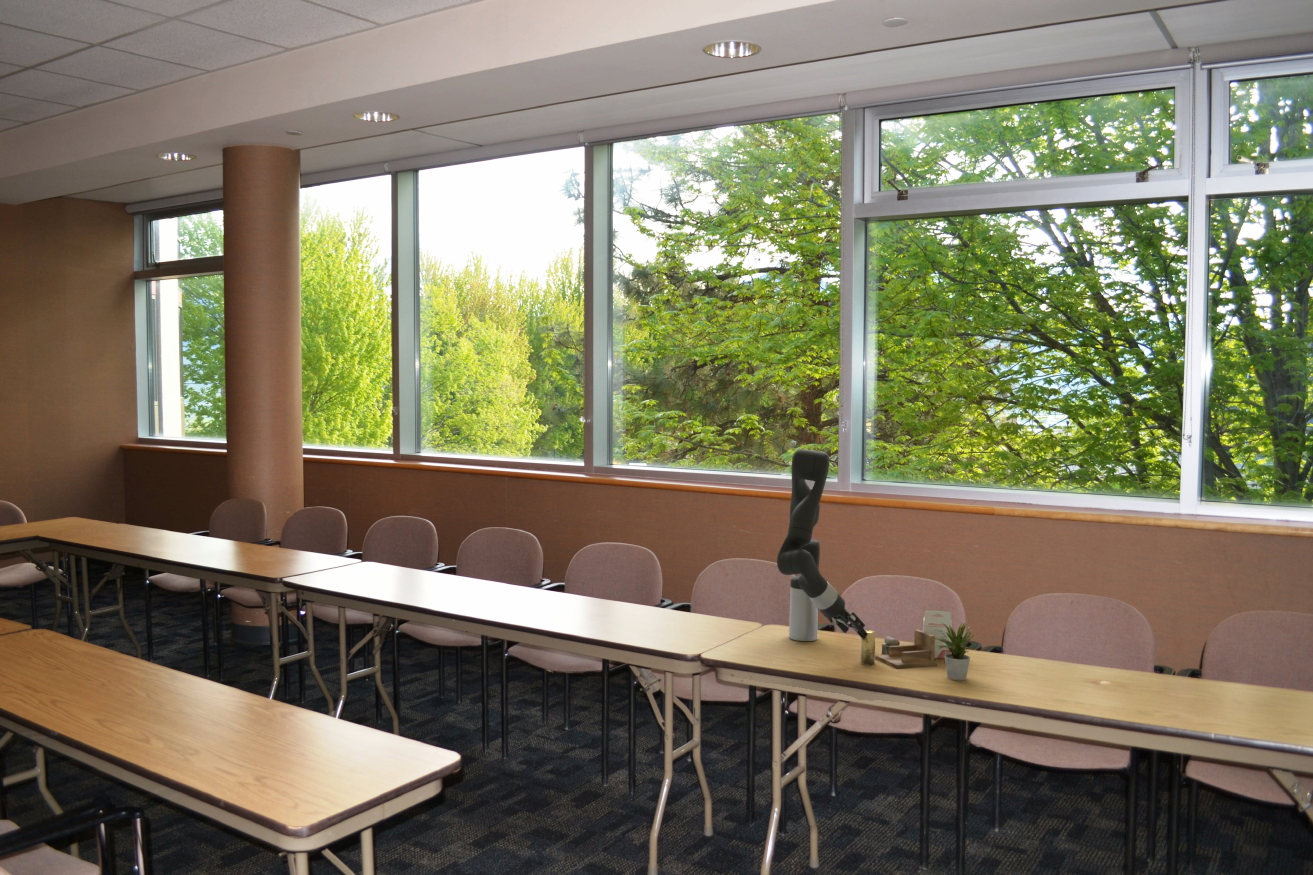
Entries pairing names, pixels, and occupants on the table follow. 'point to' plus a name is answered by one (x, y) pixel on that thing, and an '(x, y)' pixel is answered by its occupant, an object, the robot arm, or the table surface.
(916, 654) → the cradle
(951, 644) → the house plant
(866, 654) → the spacer
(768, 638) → the table surface
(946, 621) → the ink cartridge box
